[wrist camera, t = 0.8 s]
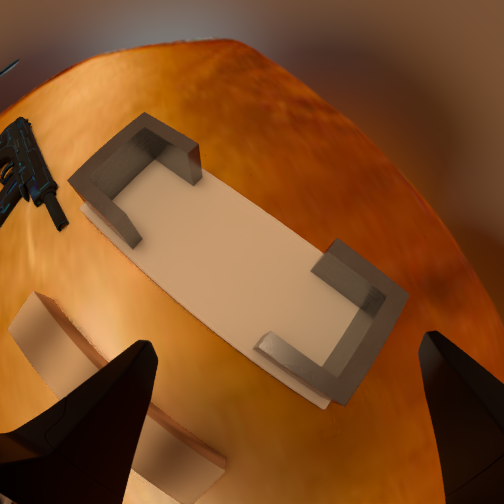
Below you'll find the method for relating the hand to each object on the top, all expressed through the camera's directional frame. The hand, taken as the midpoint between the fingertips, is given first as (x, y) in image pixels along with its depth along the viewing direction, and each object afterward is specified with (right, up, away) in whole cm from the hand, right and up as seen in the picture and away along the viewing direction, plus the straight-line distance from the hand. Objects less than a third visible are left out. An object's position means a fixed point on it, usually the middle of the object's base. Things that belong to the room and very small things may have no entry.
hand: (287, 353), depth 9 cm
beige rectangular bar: (-12, -9, +11) cm, 19 cm away
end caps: (-3, +3, +14) cm, 15 cm away
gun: (-31, +10, +17) cm, 37 cm away
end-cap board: (-3, +2, +15) cm, 16 cm away
